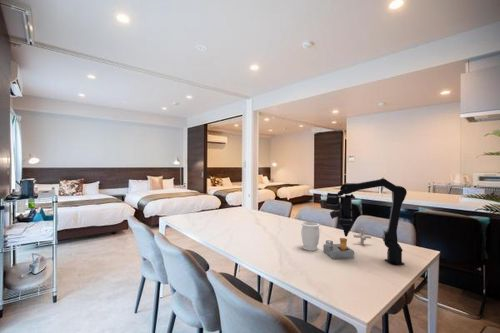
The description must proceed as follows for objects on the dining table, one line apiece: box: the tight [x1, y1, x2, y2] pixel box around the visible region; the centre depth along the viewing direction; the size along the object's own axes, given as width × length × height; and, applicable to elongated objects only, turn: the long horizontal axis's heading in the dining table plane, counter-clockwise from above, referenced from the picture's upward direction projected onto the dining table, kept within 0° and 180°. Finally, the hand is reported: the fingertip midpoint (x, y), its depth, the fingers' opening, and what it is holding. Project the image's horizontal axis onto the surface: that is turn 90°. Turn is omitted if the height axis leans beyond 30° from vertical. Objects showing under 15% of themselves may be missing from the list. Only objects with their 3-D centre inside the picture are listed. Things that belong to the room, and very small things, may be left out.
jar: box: [301, 221, 321, 252], centre depth 143 cm, size 11×10×15 cm
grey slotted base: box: [323, 239, 355, 260], centre depth 133 cm, size 12×12×6 cm
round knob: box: [339, 237, 348, 250], centre depth 132 cm, size 4×4×8 cm
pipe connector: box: [353, 227, 372, 246], centre depth 152 cm, size 10×10×10 cm
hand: (346, 234), depth 132 cm, fingers open, 9 cm apart
